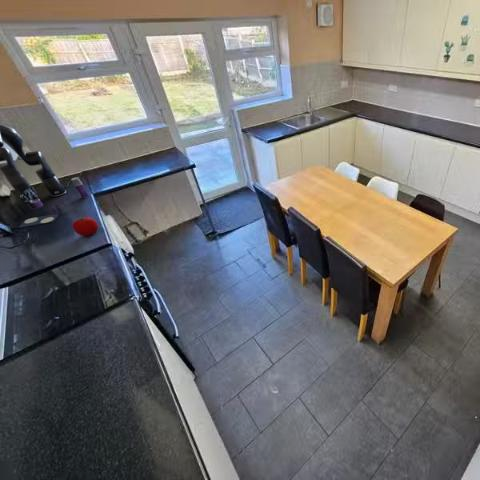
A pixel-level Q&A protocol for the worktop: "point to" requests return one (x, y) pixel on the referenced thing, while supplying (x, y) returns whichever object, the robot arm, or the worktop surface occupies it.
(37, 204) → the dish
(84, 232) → the tomato
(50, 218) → the mat
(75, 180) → the container
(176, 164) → the worktop surface
